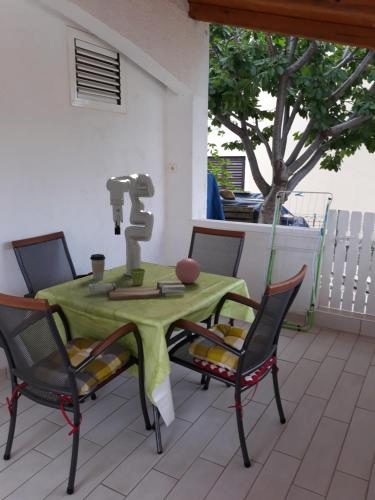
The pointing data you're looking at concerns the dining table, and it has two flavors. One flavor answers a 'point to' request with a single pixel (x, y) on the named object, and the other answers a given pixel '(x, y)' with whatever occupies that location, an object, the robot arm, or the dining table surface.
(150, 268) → the dining table surface
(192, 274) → the balloon
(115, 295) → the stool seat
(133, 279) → the plant pot
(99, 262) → the coffee cup
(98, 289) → the folding leg
